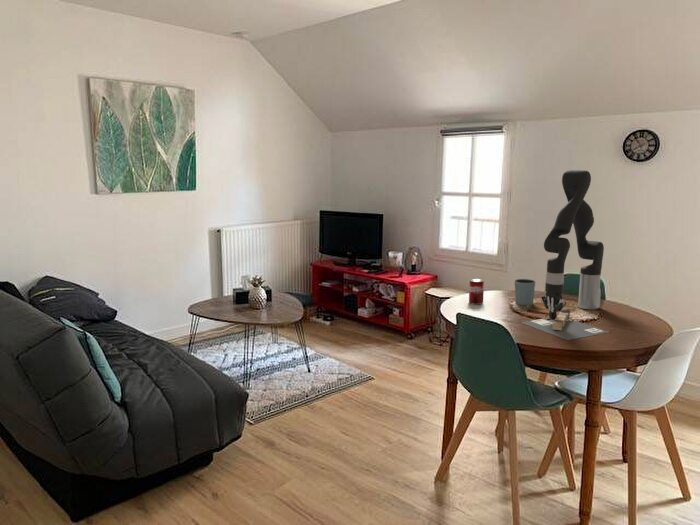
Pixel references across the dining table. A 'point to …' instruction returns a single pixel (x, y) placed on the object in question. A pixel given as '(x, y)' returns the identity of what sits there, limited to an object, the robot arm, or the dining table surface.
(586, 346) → the dining table surface
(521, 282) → the teal cup
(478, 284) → the soda can
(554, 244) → the robot arm
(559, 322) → the swing arm
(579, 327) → the label mat
